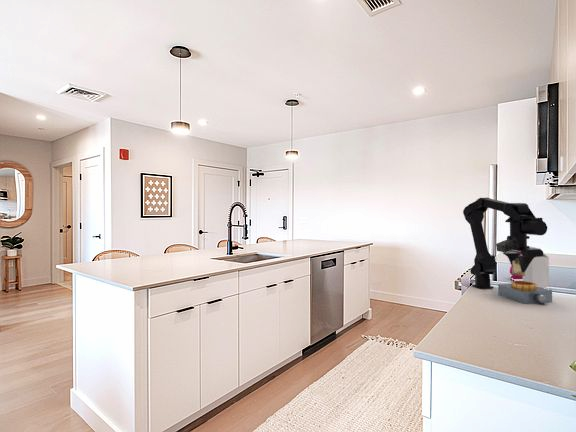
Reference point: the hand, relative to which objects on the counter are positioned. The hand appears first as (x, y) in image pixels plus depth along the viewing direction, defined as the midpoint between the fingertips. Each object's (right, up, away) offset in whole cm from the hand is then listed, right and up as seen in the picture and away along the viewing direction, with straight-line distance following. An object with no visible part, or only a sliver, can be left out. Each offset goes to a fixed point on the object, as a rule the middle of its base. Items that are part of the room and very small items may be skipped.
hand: (518, 271), depth 136 cm
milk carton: (+17, -11, +14) cm, 25 cm away
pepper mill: (+21, -10, +30) cm, 38 cm away
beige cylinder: (0, -2, 0) cm, 2 cm away
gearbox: (+3, -11, -1) cm, 12 cm away
